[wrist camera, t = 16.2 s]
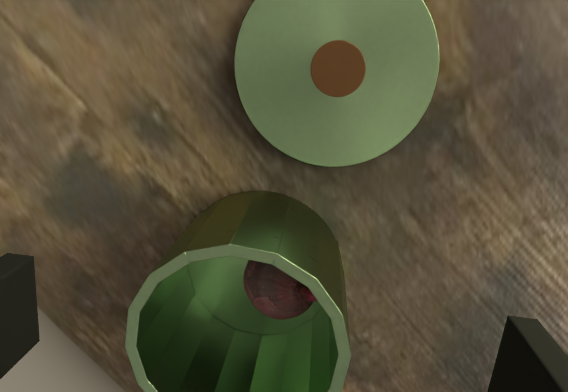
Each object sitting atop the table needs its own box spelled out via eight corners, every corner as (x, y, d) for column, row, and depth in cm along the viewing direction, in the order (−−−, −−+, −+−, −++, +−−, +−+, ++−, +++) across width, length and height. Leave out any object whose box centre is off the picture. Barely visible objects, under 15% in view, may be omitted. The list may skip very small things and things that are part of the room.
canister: (150, 245, 42) (81, 318, 30) (281, 158, 39) (261, 201, 27) (243, 363, 45) (213, 472, 33) (373, 291, 41) (392, 384, 30)
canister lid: (198, 40, 37) (152, 33, 27) (367, -90, 33) (384, -153, 23) (307, 198, 40) (301, 242, 30) (473, 93, 36) (528, 105, 26)
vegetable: (293, 304, 42) (356, 338, 33) (228, 310, 39) (278, 348, 30) (295, 237, 42) (359, 252, 33) (230, 238, 39) (280, 255, 30)
